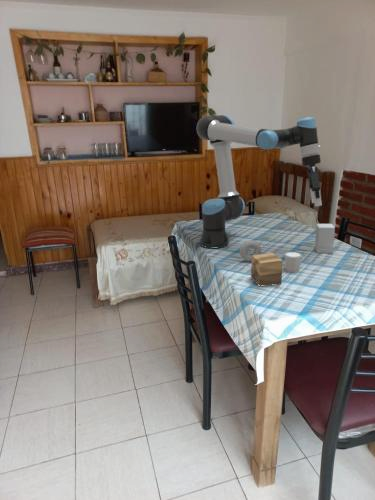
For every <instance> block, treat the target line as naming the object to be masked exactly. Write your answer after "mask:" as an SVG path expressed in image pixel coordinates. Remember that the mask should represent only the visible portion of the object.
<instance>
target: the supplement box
mask: <svg viewBox="0 0 375 500" xmlns="http://www.w3.org/2000/svg"><path fill="white" fill-rule="evenodd" d="M315 227H316V228H315V240H314V250H315V252H316V253H318V254H333V251H334V244H335V241H334V240H335V230H336V227H335V226H334V224H333V223H316V226H315Z"/></svg>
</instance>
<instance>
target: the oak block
mask: <svg viewBox="0 0 375 500" xmlns="http://www.w3.org/2000/svg"><path fill="white" fill-rule="evenodd" d="M283 263H284V260H282V259H281V258H280V257H279V256H278V255H276V254H275V253H273V252H271V253H261V254H259V255H252V261H251V267H252V268H253V269H254V270H255V271H256V272H257V273H258V274H259V275H268V274H276V273H282V274H283V268H284V267H283V265H284V264H283Z"/></svg>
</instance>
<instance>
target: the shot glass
mask: <svg viewBox="0 0 375 500" xmlns="http://www.w3.org/2000/svg"><path fill="white" fill-rule="evenodd" d="M302 255H303V254H302V253H299V252H297V251H287V252H285V253H284V268H285V271H286V272H289V273H297V272H299V271H300V268H301V264H302V263H301V261H302V257H303V256H302Z"/></svg>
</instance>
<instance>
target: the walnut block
mask: <svg viewBox="0 0 375 500" xmlns="http://www.w3.org/2000/svg"><path fill="white" fill-rule="evenodd" d="M251 277H252V278H253V279H254V280H255V281H256V282H257V283H258V284H259V285H260V286H261V285H269V286H273V285H272V284H277V285H281V284H282V278H283V272H282V273H276V274H268V275H259V274H258V273H257V272H256V271H255V270H254V269H253V268H252V266H251V270H250V278H251ZM252 278H251V279H252ZM253 279H252V280H253ZM254 280H253V281H254ZM255 281H254V282H255ZM256 282H255V283H256ZM257 283H256V284H257Z"/></svg>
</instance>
